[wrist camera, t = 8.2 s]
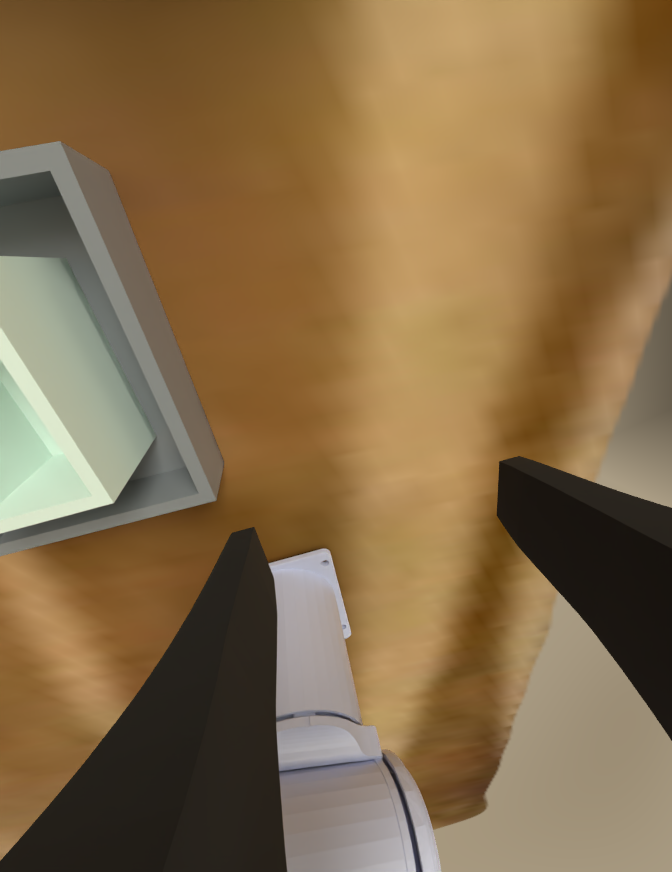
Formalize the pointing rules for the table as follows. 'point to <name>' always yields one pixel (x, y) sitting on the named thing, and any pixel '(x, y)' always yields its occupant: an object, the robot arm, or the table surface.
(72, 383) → the small crate
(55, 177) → the large crate
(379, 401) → the table surface
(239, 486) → the table surface
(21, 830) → the table surface
